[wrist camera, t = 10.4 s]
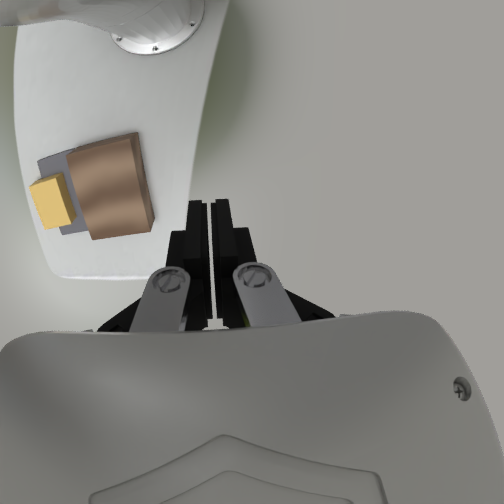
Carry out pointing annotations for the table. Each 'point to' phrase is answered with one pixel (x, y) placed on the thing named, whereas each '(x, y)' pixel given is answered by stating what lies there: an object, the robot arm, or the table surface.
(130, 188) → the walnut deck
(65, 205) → the ochre tile
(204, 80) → the table surface
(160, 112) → the table surface
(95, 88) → the table surface
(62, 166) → the charcoal mat
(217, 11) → the table surface
